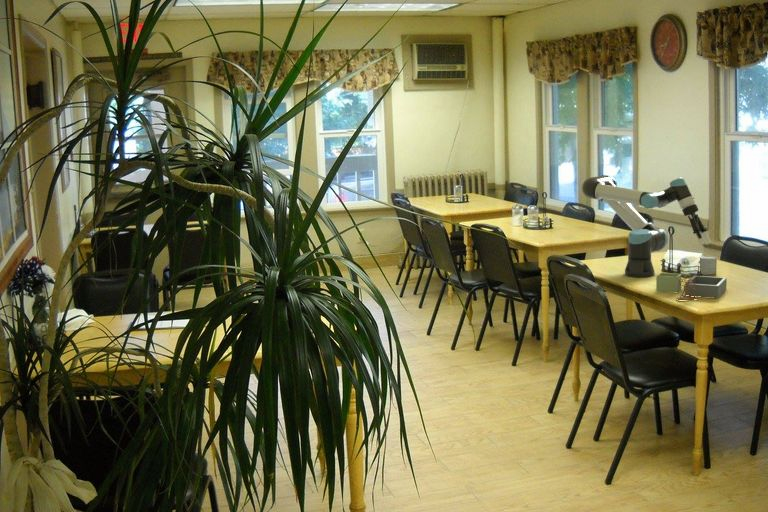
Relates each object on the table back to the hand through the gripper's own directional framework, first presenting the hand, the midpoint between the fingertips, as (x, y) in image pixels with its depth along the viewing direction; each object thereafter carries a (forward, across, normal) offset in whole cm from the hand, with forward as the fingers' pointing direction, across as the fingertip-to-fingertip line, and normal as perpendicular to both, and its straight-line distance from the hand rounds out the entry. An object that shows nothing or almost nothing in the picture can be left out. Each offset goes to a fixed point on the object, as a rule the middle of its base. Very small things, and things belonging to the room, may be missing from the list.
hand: (706, 244), depth 457 cm
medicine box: (+14, +11, +8) cm, 19 cm away
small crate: (+16, -34, +19) cm, 42 cm away
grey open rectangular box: (+23, -34, +4) cm, 41 cm away
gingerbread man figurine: (+24, -50, +10) cm, 57 cm away
